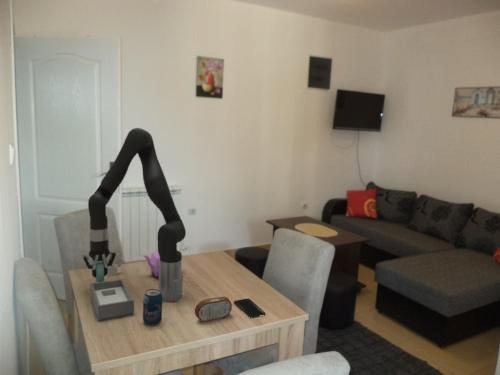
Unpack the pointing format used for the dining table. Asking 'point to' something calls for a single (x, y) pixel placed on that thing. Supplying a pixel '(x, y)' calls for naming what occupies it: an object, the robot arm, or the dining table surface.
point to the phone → (249, 307)
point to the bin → (111, 300)
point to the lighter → (114, 268)
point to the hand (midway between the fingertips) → (99, 276)
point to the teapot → (154, 262)
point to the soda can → (152, 307)
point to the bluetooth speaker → (213, 309)
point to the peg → (99, 272)
